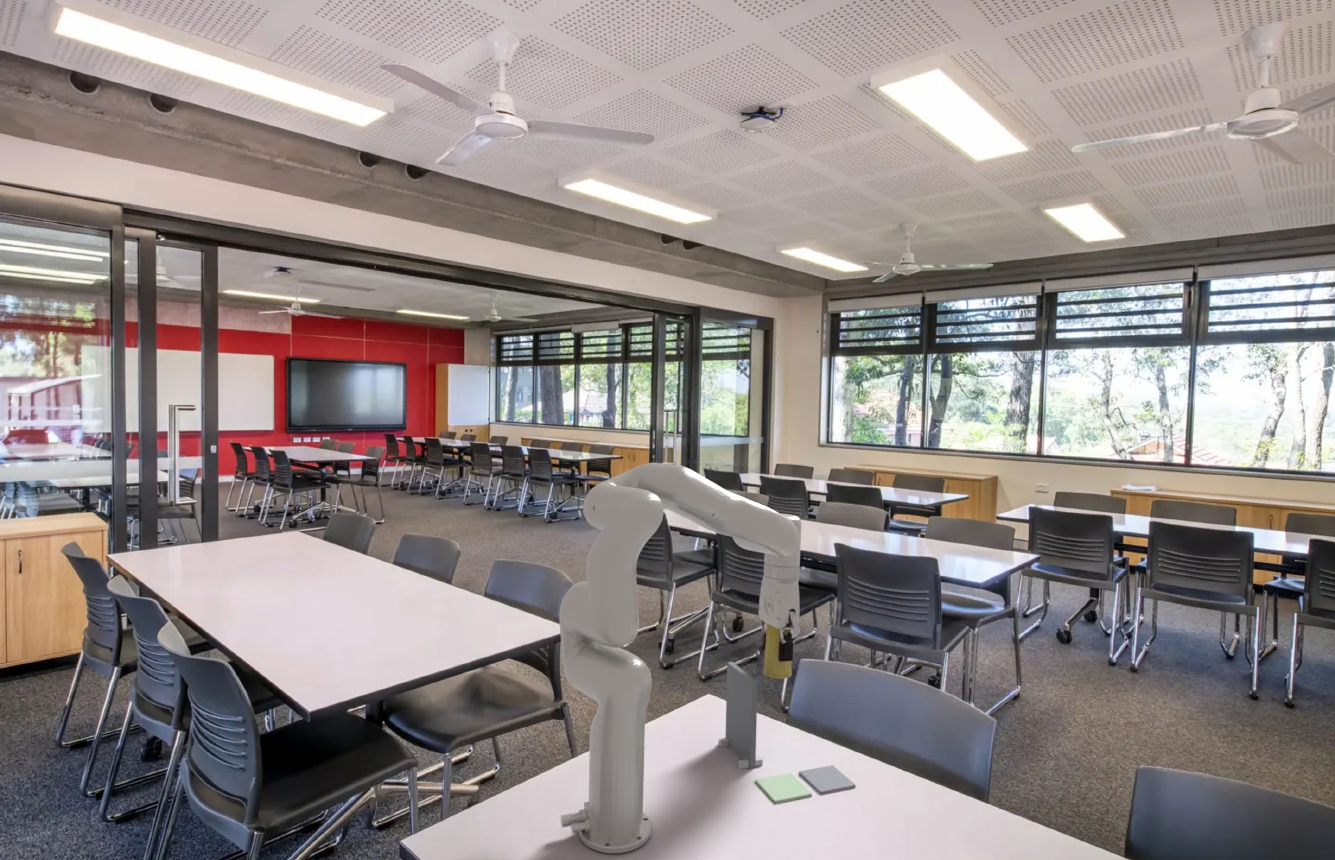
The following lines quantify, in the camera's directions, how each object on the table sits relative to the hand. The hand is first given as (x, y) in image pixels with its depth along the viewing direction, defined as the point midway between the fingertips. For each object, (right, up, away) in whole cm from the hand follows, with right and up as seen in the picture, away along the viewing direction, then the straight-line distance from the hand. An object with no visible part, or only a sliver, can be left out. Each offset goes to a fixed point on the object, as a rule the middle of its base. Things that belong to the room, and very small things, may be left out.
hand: (777, 654), depth 149 cm
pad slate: (+8, -22, -10) cm, 26 cm away
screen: (-8, -21, 0) cm, 23 cm away
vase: (0, -4, 0) cm, 4 cm away
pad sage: (-1, -22, -13) cm, 26 cm away
